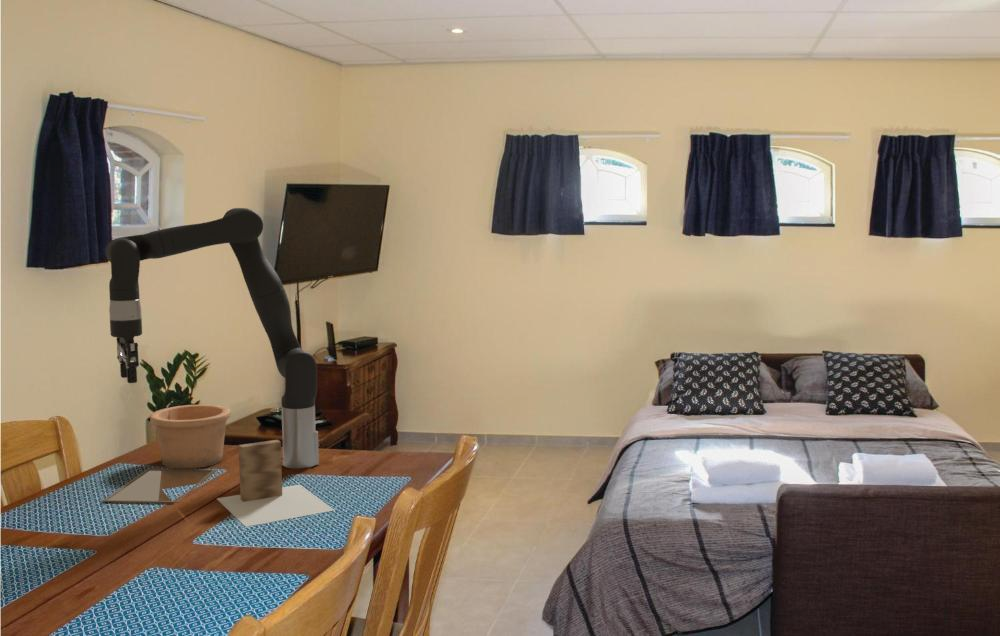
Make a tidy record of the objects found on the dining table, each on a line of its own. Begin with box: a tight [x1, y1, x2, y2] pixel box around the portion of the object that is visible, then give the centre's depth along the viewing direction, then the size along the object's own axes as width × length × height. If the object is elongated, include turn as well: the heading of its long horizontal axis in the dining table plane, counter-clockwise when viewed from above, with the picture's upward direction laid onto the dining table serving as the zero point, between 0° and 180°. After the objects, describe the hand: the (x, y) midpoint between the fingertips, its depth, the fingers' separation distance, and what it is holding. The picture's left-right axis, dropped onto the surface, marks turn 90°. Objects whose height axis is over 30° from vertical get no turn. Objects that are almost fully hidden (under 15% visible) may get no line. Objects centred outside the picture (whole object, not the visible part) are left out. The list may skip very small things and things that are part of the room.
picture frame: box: [101, 468, 217, 505], centre depth 251 cm, size 19×1×28 cm
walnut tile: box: [238, 439, 283, 502], centre depth 240 cm, size 10×2×14 cm, turn 122°
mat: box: [216, 484, 335, 528], centre depth 235 cm, size 22×24×1 cm
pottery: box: [149, 404, 231, 470], centre depth 273 cm, size 22×22×14 cm
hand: (128, 380), depth 243 cm, fingers open, 8 cm apart
